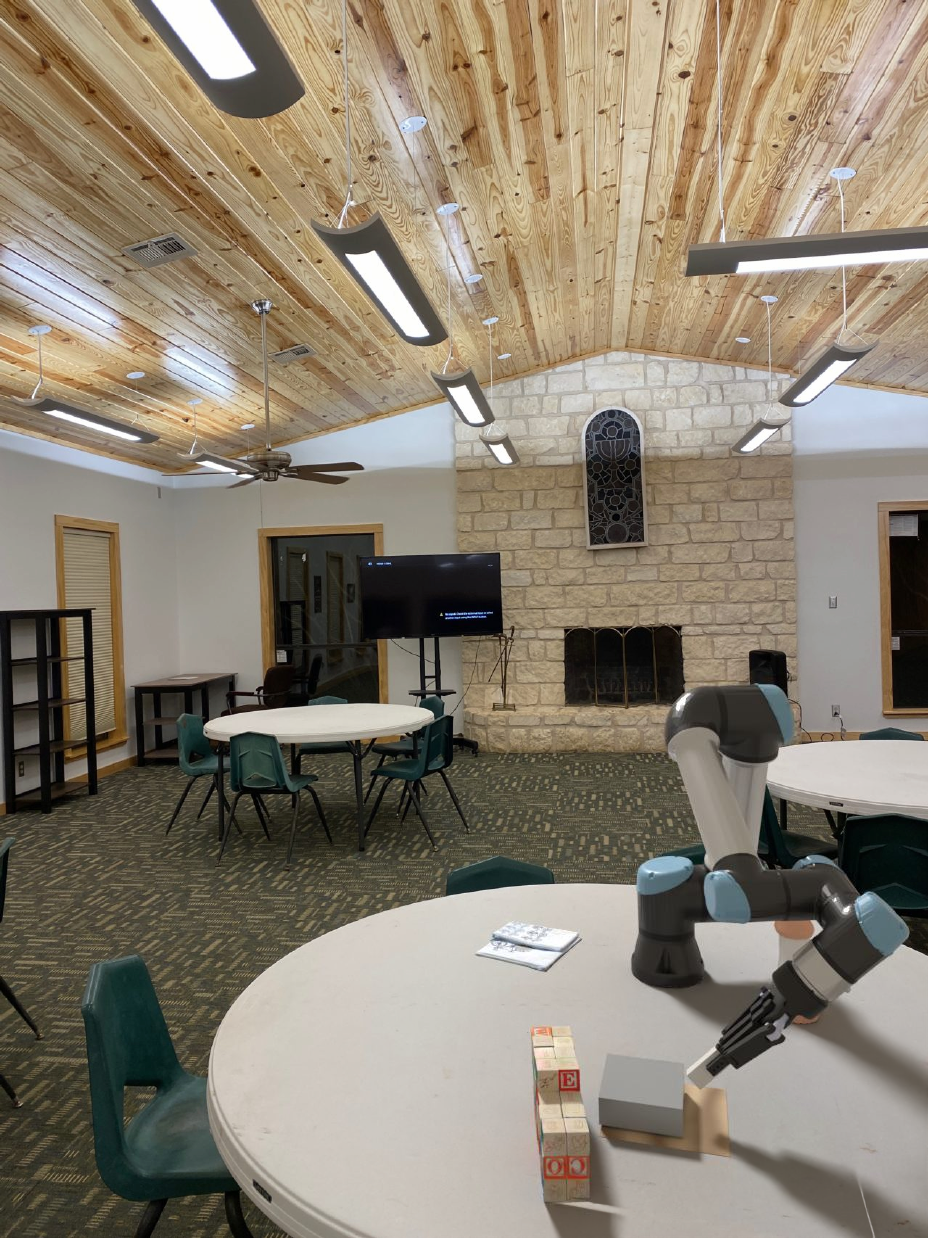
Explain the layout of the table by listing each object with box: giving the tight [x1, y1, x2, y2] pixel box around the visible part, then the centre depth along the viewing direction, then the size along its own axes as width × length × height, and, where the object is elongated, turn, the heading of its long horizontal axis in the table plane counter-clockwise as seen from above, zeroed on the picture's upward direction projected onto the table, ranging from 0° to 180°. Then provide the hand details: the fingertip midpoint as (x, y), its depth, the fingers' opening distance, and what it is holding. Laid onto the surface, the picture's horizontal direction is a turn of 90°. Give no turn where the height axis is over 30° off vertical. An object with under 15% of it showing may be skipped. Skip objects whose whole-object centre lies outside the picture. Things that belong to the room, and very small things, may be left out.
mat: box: [598, 1083, 731, 1158], centre depth 119 cm, size 18×16×1 cm
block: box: [597, 1053, 686, 1137], centre depth 120 cm, size 4×12×12 cm
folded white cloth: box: [474, 920, 582, 972], centre depth 182 cm, size 19×20×2 cm
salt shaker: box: [773, 920, 819, 1025], centre depth 148 cm, size 7×7×19 cm
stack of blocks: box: [530, 1025, 591, 1203], centre depth 113 cm, size 21×6×12 cm, turn 179°
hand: (693, 1080), depth 118 cm, fingers closed
